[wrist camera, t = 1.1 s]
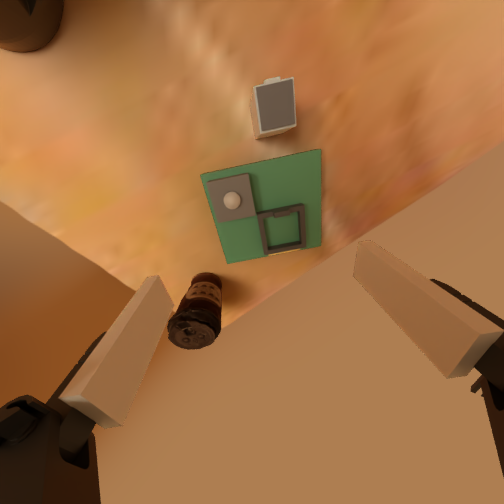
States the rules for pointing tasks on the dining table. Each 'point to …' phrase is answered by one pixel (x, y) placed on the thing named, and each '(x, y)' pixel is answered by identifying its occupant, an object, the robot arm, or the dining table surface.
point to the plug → (273, 107)
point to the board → (267, 206)
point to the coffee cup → (198, 314)
